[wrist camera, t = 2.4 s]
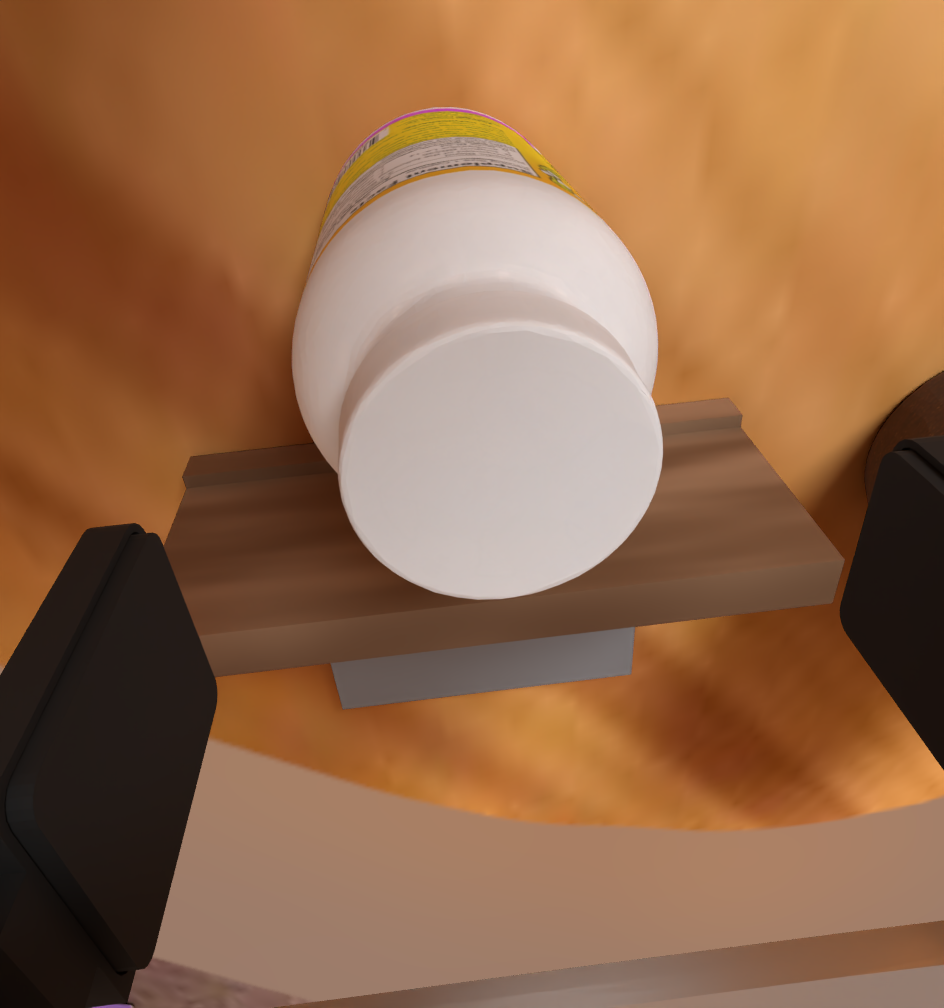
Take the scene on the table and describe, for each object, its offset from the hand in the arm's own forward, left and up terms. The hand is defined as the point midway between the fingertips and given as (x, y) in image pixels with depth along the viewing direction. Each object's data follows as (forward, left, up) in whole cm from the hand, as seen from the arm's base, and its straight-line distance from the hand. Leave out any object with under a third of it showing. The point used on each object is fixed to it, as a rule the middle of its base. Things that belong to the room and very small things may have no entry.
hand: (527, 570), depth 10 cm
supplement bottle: (-1, 0, -14) cm, 14 cm away
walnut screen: (+7, 0, -14) cm, 16 cm away
